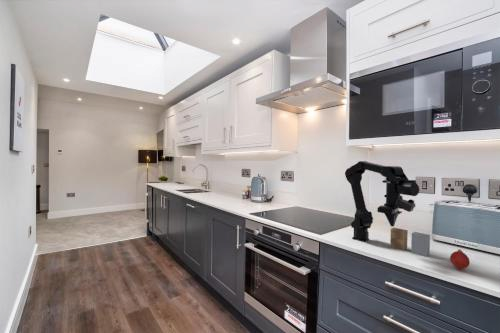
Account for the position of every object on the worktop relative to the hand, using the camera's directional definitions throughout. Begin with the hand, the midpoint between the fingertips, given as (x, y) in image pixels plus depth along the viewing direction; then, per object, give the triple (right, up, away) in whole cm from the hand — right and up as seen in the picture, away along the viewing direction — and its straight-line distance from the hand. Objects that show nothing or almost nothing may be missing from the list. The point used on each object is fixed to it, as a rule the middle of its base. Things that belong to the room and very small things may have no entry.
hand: (392, 226), depth 112 cm
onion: (+16, -13, -18) cm, 27 cm away
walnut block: (+6, -12, +5) cm, 14 cm away
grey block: (+12, -12, -2) cm, 17 cm away
